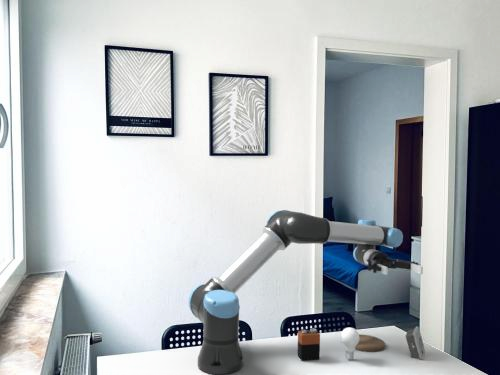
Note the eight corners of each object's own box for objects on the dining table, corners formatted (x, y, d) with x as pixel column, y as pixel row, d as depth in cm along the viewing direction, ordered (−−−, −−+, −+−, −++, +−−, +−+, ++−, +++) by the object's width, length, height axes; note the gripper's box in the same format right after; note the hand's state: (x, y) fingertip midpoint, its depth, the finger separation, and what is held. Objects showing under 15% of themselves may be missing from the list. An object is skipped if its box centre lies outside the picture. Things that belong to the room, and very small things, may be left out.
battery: (320, 360, 147) (320, 331, 146) (301, 361, 145) (301, 332, 145) (315, 355, 151) (316, 327, 151) (297, 356, 149) (297, 328, 149)
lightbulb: (359, 364, 144) (360, 331, 144) (340, 362, 145) (341, 330, 145) (358, 356, 150) (359, 325, 150) (340, 355, 151) (340, 324, 151)
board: (336, 342, 163) (336, 339, 163) (361, 334, 172) (361, 331, 172) (368, 355, 151) (368, 352, 151) (393, 346, 160) (393, 343, 160)
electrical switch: (422, 361, 147) (420, 334, 148) (406, 359, 150) (404, 332, 150) (425, 351, 156) (423, 326, 156) (410, 350, 158) (408, 325, 158)
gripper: (404, 268, 176) (435, 280, 155) (347, 269, 171) (371, 282, 150) (404, 250, 176) (436, 259, 155) (347, 251, 171) (372, 260, 150)
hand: (404, 270), depth 153 cm, fingers open, 13 cm apart
